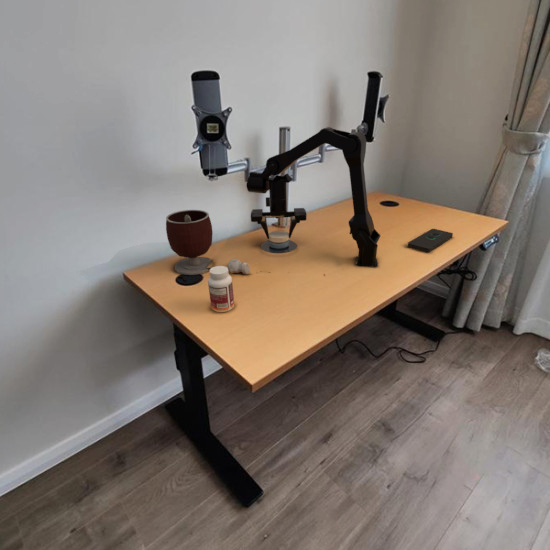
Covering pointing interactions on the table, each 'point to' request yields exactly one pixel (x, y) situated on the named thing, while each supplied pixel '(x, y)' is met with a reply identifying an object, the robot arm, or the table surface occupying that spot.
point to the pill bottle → (221, 289)
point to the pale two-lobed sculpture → (238, 266)
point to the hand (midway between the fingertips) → (278, 238)
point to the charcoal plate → (289, 248)
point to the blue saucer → (278, 244)
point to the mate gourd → (190, 239)
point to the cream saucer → (279, 236)
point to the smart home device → (430, 240)
